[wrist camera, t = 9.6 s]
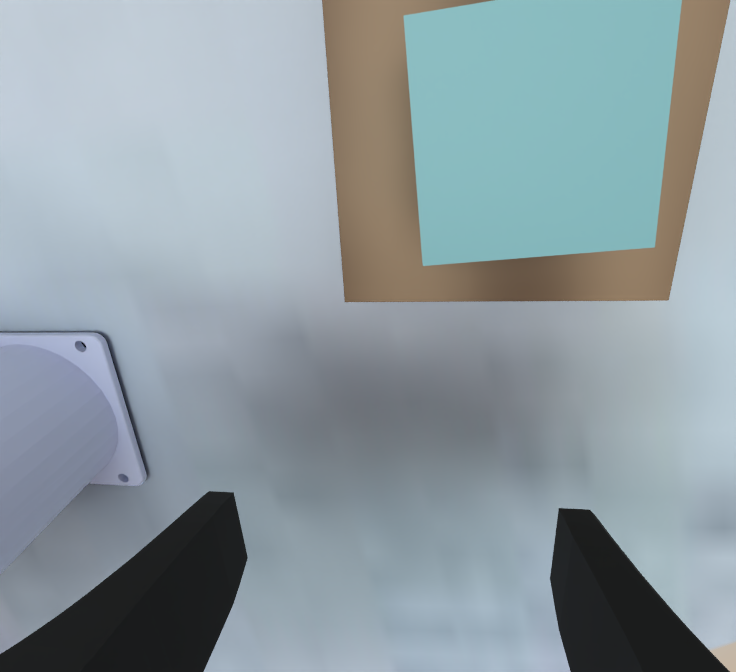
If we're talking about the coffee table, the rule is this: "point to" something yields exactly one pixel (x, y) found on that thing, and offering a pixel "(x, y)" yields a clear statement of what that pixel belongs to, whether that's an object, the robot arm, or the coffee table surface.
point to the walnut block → (398, 177)
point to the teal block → (539, 125)
